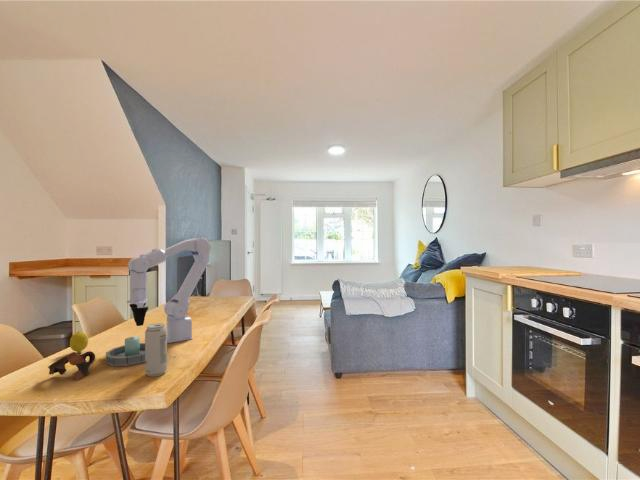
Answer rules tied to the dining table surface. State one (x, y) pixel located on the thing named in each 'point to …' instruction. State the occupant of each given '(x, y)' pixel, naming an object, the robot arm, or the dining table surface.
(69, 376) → the dining table surface
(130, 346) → the teal cup
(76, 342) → the lemon
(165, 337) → the energy drink can
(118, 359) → the tray
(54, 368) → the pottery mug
